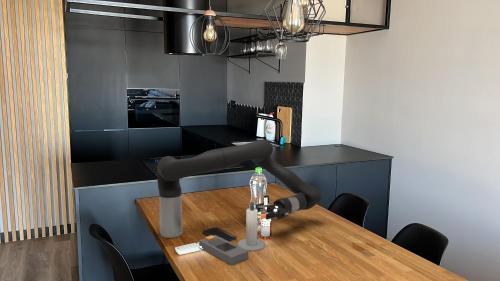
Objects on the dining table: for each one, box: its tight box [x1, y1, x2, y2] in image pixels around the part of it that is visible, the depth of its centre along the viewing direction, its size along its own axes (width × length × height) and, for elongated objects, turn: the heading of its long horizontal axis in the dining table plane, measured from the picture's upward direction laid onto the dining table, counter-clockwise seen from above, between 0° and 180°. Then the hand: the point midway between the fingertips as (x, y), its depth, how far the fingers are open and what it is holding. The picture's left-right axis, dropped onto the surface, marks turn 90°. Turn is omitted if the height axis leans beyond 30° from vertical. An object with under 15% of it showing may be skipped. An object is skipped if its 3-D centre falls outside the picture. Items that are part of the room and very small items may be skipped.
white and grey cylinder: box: [245, 201, 259, 246], centre depth 157 cm, size 4×4×17 cm
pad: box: [237, 238, 266, 252], centre depth 158 cm, size 11×11×1 cm
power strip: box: [198, 235, 249, 266], centre depth 151 cm, size 20×8×4 cm, turn 42°
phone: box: [201, 226, 237, 242], centre depth 167 cm, size 8×1×15 cm
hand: (258, 214), depth 159 cm, fingers open, 8 cm apart
